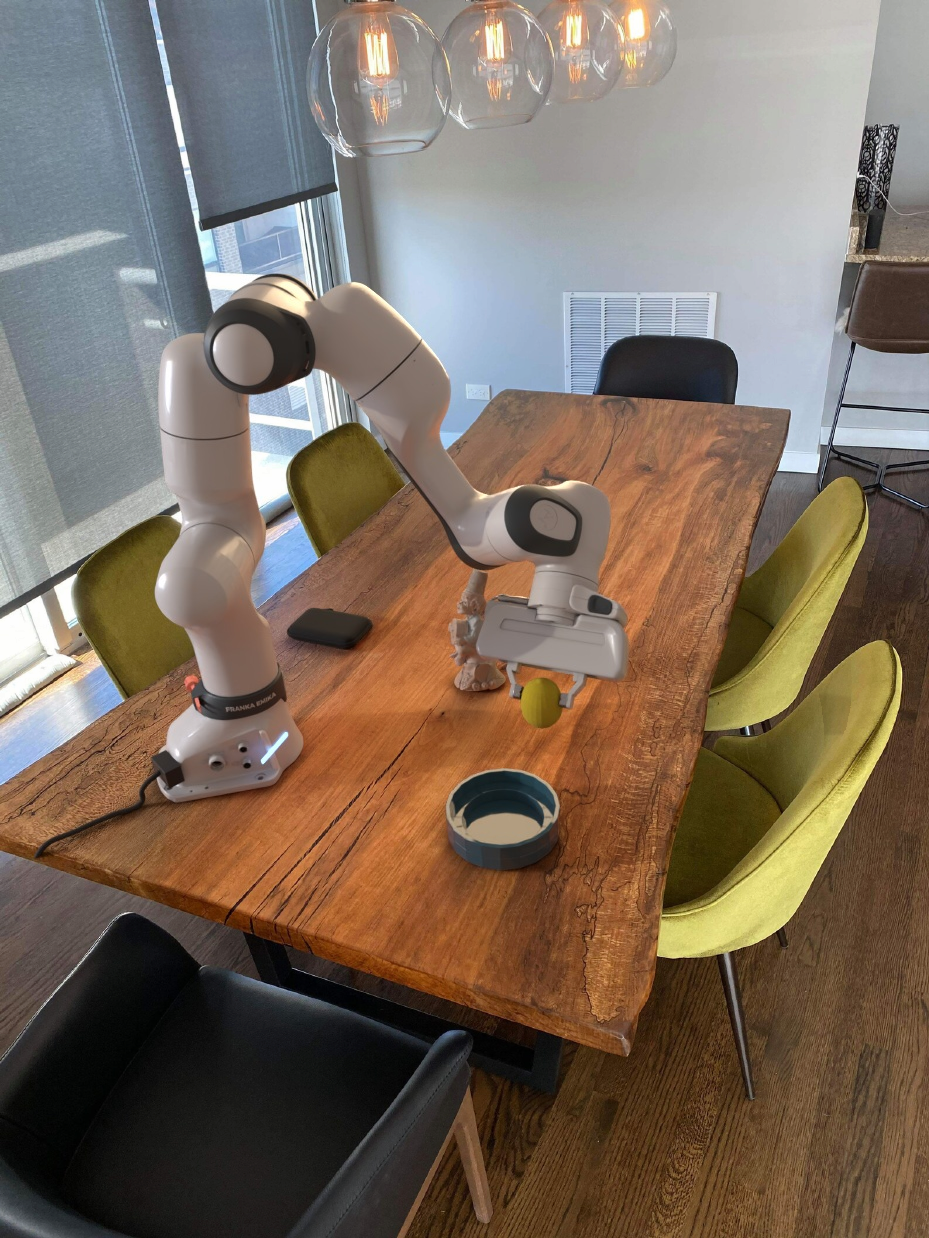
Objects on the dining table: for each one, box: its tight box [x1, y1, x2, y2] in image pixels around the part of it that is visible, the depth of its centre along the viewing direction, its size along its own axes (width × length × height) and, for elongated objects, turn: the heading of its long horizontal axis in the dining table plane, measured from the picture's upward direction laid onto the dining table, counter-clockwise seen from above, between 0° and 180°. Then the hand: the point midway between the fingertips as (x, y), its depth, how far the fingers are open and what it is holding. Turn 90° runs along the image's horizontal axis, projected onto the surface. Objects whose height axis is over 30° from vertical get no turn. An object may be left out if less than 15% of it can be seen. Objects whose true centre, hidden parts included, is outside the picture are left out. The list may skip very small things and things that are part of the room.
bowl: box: [444, 767, 561, 871], centre depth 123 cm, size 15×15×4 cm
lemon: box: [520, 677, 564, 729], centre depth 120 cm, size 6×6×8 cm
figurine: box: [447, 568, 506, 692], centre depth 150 cm, size 9×8×20 cm
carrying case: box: [286, 607, 374, 651], centre depth 170 cm, size 11×3×15 cm
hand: (540, 703), depth 119 cm, fingers closed on lemon, 5 cm apart
